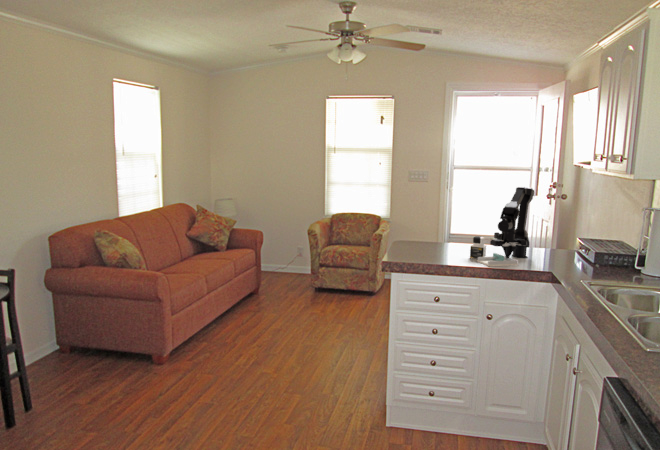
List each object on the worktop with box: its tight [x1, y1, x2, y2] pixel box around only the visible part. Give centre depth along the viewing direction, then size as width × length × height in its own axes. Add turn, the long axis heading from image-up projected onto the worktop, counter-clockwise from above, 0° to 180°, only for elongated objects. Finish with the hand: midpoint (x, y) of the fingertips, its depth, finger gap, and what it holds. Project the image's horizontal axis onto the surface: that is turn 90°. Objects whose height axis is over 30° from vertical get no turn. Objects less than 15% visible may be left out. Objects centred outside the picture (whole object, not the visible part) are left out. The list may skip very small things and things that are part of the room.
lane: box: [476, 255, 519, 267], centre depth 270 cm, size 17×12×2 cm
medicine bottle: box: [469, 235, 487, 260], centre depth 282 cm, size 7×7×12 cm
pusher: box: [485, 252, 505, 261], centre depth 269 cm, size 8×8×4 cm
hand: (507, 258), depth 271 cm, fingers closed
